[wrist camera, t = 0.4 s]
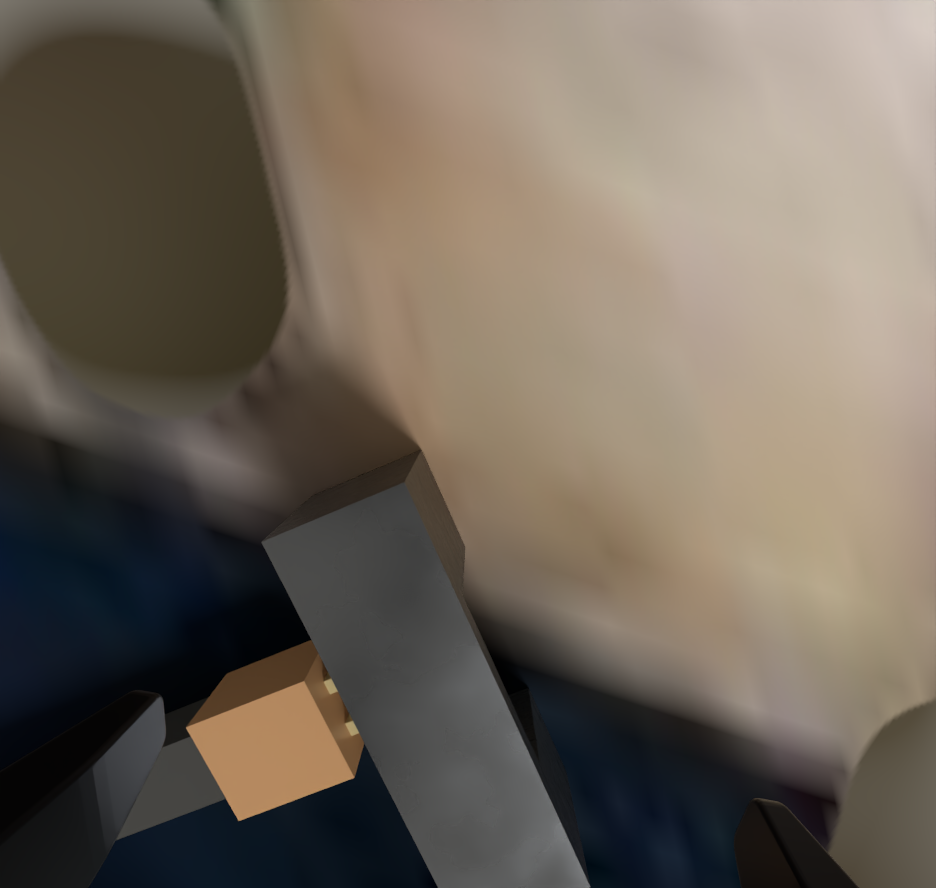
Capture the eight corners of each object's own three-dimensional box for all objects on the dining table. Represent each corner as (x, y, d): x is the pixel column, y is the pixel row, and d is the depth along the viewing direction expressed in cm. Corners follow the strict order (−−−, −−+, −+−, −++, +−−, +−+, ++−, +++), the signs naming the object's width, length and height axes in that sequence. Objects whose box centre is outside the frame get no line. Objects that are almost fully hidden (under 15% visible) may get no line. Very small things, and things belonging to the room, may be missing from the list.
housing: (464, 808, 26) (460, 931, 20) (311, 496, 23) (261, 542, 18) (566, 771, 25) (590, 887, 20) (421, 449, 23) (404, 482, 18)
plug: (35, 845, 27) (-33, 922, 23) (-14, 769, 26) (-91, 836, 22) (395, 707, 25) (382, 767, 22) (353, 622, 24) (332, 669, 21)
